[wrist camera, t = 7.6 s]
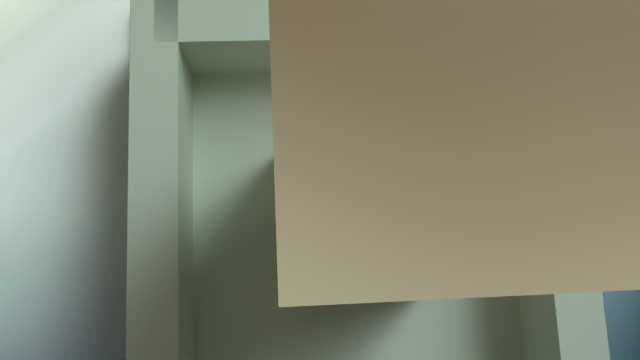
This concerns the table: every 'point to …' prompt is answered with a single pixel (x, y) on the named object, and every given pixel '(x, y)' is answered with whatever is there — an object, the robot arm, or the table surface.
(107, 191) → the table surface
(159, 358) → the tray
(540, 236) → the post
